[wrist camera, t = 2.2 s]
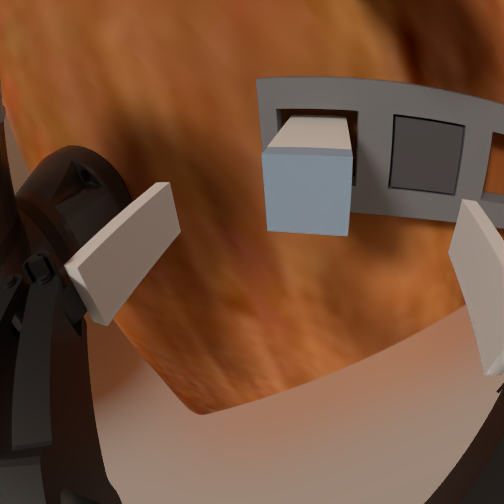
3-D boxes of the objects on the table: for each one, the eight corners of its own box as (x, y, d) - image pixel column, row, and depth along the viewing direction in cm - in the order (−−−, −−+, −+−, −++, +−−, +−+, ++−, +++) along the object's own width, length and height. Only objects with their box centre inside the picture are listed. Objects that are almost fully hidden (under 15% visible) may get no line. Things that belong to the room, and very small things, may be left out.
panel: (271, 196, 26) (266, 207, 24) (262, 77, 20) (255, 79, 18) (522, 221, 19) (531, 232, 18) (543, 118, 14) (556, 124, 12)
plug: (294, 163, 23) (267, 230, 15) (292, 114, 21) (261, 154, 13) (345, 166, 22) (347, 236, 14) (345, 116, 20) (352, 157, 12)
